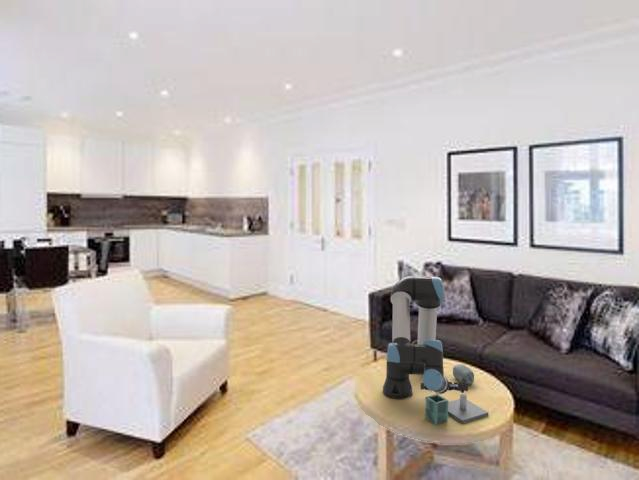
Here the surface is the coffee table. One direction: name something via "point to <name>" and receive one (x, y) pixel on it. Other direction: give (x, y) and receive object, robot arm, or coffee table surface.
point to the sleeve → (436, 409)
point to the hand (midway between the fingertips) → (446, 389)
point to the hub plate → (465, 410)
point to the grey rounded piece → (463, 374)
